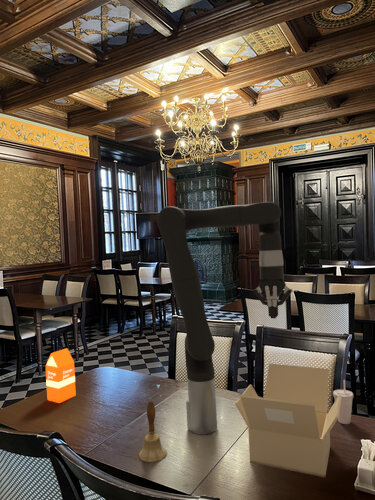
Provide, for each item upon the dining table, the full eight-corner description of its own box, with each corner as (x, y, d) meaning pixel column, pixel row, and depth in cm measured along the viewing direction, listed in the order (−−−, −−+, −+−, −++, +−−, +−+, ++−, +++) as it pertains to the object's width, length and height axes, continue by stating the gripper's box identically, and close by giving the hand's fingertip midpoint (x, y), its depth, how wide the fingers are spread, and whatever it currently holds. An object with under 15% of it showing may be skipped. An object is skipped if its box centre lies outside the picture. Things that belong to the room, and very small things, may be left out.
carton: (237, 459, 109) (233, 389, 108) (260, 419, 132) (257, 362, 132) (340, 480, 97) (337, 402, 97) (345, 432, 121) (342, 369, 120)
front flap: (250, 426, 106) (250, 428, 106) (240, 394, 99) (240, 396, 99) (320, 437, 99) (320, 439, 98) (314, 404, 91) (314, 406, 91)
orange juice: (47, 399, 159) (44, 352, 159) (63, 392, 167) (61, 347, 167) (59, 403, 155) (57, 354, 155) (76, 395, 163) (73, 348, 163)
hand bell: (139, 448, 117) (136, 397, 117) (166, 446, 118) (163, 395, 118) (138, 464, 109) (135, 408, 109) (167, 461, 110) (164, 406, 109)
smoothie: (356, 426, 124) (354, 383, 124) (335, 425, 126) (334, 383, 125) (352, 417, 131) (350, 377, 130) (332, 416, 132) (330, 376, 132)
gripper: (248, 265, 122) (250, 319, 122) (290, 264, 117) (292, 321, 117) (254, 264, 129) (256, 315, 129) (294, 263, 123) (296, 316, 124)
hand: (273, 317), depth 123 cm, fingers closed
